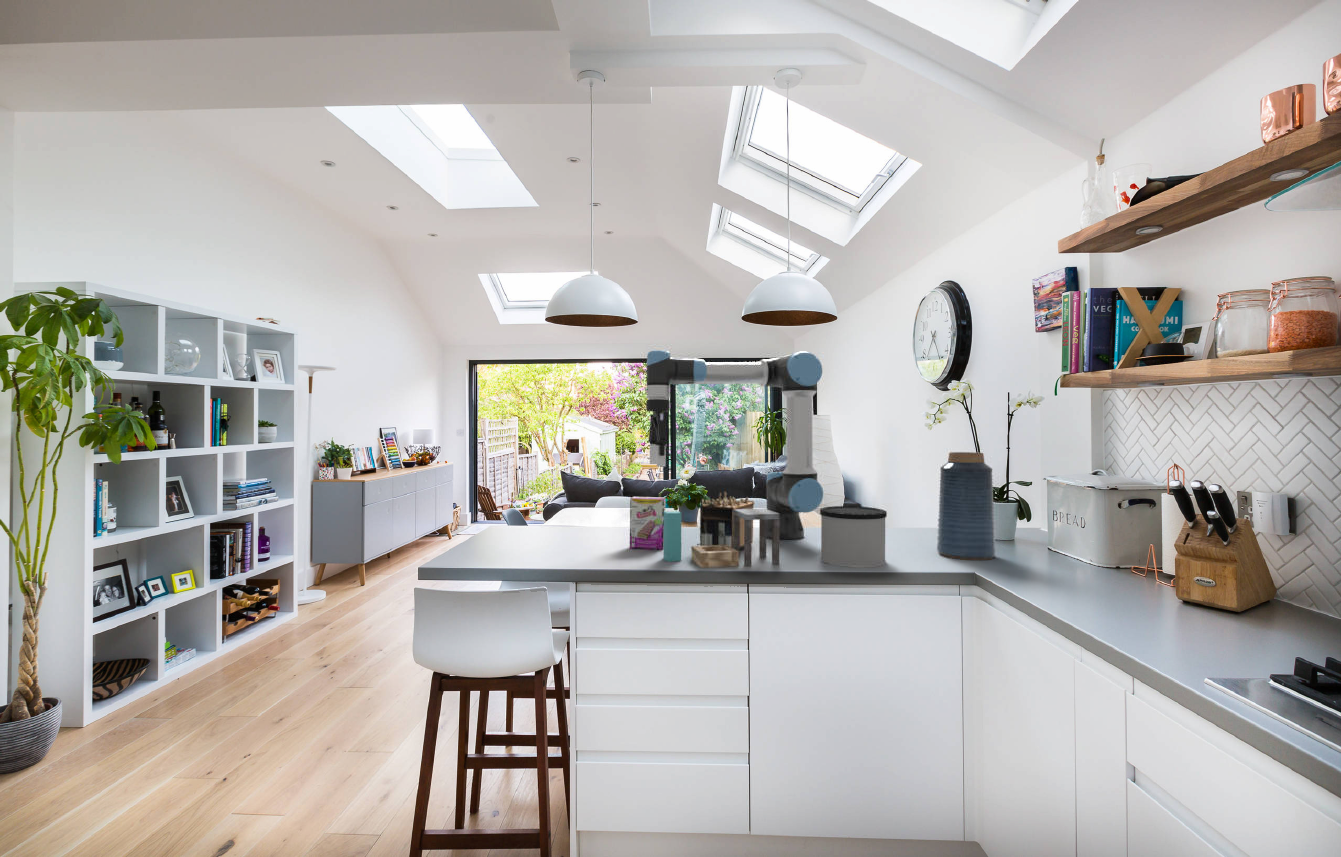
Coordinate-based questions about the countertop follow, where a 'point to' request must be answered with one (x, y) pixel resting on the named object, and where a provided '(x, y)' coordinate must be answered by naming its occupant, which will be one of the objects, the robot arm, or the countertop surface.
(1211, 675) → the countertop surface
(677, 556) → the peg
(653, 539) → the candy bar box
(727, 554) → the socket station
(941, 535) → the vase
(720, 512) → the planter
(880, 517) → the container
